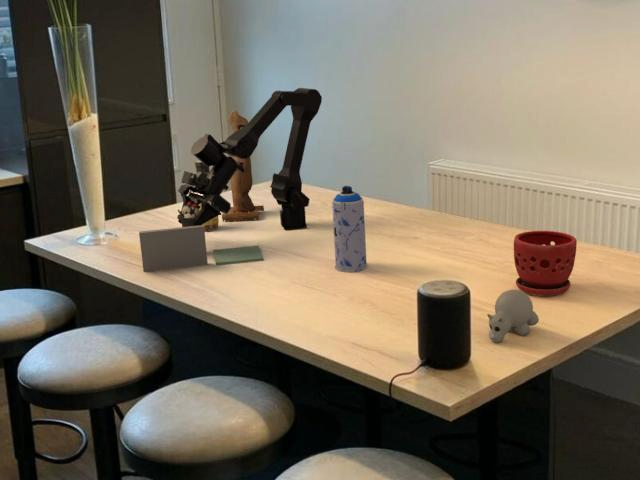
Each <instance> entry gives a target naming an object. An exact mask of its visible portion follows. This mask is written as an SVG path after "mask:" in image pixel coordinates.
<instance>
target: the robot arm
mask: <svg viewBox="0 0 640 480" xmlns="http://www.w3.org/2000/svg"><path fill="white" fill-rule="evenodd" d="M322 99H323V98H322V95H321V93H320V91H318V90H317V89H315V88H307V87H298V88H296V89H295V90H292V91H291V90H274V92H272V93H271V97H269V98H268V100H267V101H266V102H265V103H264V104H263V105H262V106H261V108H260V109H259V110H257V112H256V113H255V115H254V116H253V117H252V118H251V119H250V120H249V121H248V124H247V125H246V126H244V127H242V128H240V129H239V130H237V131H235V132H232V133H231V135H229V136H228V137H227V138H225V141H222V142H218V141H217V140H216V139H215V138H214V137H213V136H212V135H211V134H210V133H205V134H204V135H203V136H202V137H200V138H198V140H197V141H194V143H193V145H192V146H191V149H190V154H191V155H193V156H194V157H195V158H196V159H197V160H200V161H201V162H202V163H204V164H205V165H206V166H207V167H209V168H210V167H211V166H212V167H211V168H210V169H209V171H210V172H209V173H206V172H205V173H203V172H198V173H197V172H196V173H193V172H189V171H186V170H185V171H184V172H183V174H182V175H183V176H182V179H181V181H180V182H181V183H182V185H180V187H179V189H178V190H177V192H178V193H180V196H181V198H182V207H181V210H180V212H181V213H182V209H183V207H184V206H186V205H187V203H188V202H190V201H191V200H192V199H193V200H192V201H191V203H192V205H193V204H194V201H195V204H196V205H197V207H196V208H198V209H199V208H201V210H200V212H199V213H198V215H197V217H196V219H195V221H194V223H193V225H192V226H199V225H203V224H204V223H206V222H208V221H209V220H211V219H213V218H215V217H217V216H218V217H219V216H222V214H223V213H225V214H228V212H229V211H230V209H231V207H232V206H231V202H229V201H228V200H227V199H226V198H224V197H223V196H222V195H221V194H223V193H222V192H223V191H228V190H229V188H230V186H228V184H229V182H231V178H232V176H233V175H234V173H235V172H236V171H238V172H242V173H244V167H243V162H237V161H236V160H235V159H233V157H236V158H241V159H247V158H249V157H250V158H251V157H252V155H253V153H254V152H255V151H256V148H257V147H258V145H259V140H260V138H261V137H262V135H263V134H264V133H265V131H266V130H267V129H268V128H269V127H270V126H271V124H272V123H273V122H274V121H275V120H276V119H277V117H278V116H279V115H280V114H281V113H282V112H283V111H284V110H285V108H286V107H288V106H290V109H291V114H292V123H291V128H290V133H289V137H288V141H287V146H286V149H285V154H284V159H283V165H282V167H281V169H280V170H279V172H278V173H275V172H274V173H273V174H272V181H271V184H270V186H269V187H270V188H271V190H270V191H271V192H270V193H271V195H272V196H273V198H274V199H275V200H276V201H275V202H276V203H277V205H280V207H281V210H280V211H279V216H280V217H279V218H280V225H281V227H282V228H283V229H284V231H287V230H289V231H290V230H298V229H307V228H308V225H307V222H306V219H307V218H306V208H307V207H309V204H310V197H308V196H307V195H306V194H305V193H304V192H303V191H302V190H303V189H302V188H303V186H302V185H303V181H302V179H301V178H302V177H301V173H300V172H301V168H302V162H303V158H304V153H305V149H306V145H307V139H308V135H309V131H310V126H311V122H312V121H313V120H314V118H315V117H316V116H317V114H318V113H319V110H320V107H321V105H322V102H323V101H322ZM225 154H227V155H228V156H227V155H225ZM194 196H196V197H194ZM193 197H194V198H195V200H194V198H193ZM199 204H201V207H200V206H199ZM177 220H178V221H177V222H178V223H179V224H181V220H180V219H177ZM181 225H182V224H181Z"/></svg>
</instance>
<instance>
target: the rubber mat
mask: <svg viewBox="0 0 640 480" xmlns="http://www.w3.org/2000/svg"><path fill="white" fill-rule="evenodd" d="M212 252H213V258H214V262H215V266H225V265H232V264H242V263H250V262H251V263H252V262H262V261H264V257H263V256H264V255H263V254H262V250H261V248H260V246H259V245H258V244H257V245H248V246H238V247H229V248H219V249H213V250H212Z"/></svg>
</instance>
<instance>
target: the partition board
mask: <svg viewBox="0 0 640 480" xmlns="http://www.w3.org/2000/svg"><path fill="white" fill-rule="evenodd" d="M205 232H206V231H205V230H204V225H199V226H189V227H182V226H181V227H180V226H179V227H171V228H159V229H150V230H141V231H138V235H139V243H140V244H139V245H140V253H141V262H142V269H143V272H151V271H152V272H155V271H161V270H172V269H183V268H191V267H201V266H208V265H209V262H208V261H209V260H208V254H207V253H208V251H207V244H206V241H207V240H206V233H205Z"/></svg>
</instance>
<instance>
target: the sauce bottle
mask: <svg viewBox="0 0 640 480" xmlns="http://www.w3.org/2000/svg"><path fill="white" fill-rule="evenodd" d="M194 166H195V170H196V174H197V173H198V172H203V173H205V172H206V173H209V172H210V166H209V167H207V166H206V165H205V164H204V163H202V162H201V161H200V160H199V159H197V160H196V161H195V162H194ZM199 206H200V207H201V204H199ZM199 210H201V208H199ZM219 221H220V220H219V215H218V216H217V217H215V218H213V219H211V220H209V221H208V222H206V223H204V224H203V225H204V230H205V232H211V231H214V230H217V229H219V223H220V222H219Z"/></svg>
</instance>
